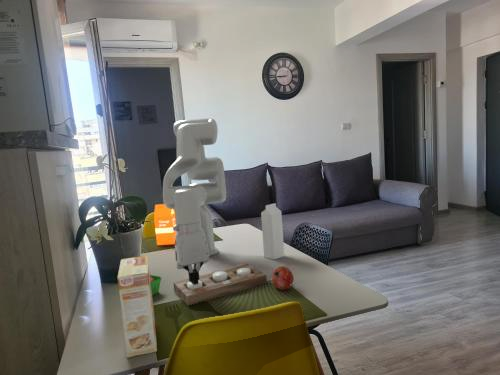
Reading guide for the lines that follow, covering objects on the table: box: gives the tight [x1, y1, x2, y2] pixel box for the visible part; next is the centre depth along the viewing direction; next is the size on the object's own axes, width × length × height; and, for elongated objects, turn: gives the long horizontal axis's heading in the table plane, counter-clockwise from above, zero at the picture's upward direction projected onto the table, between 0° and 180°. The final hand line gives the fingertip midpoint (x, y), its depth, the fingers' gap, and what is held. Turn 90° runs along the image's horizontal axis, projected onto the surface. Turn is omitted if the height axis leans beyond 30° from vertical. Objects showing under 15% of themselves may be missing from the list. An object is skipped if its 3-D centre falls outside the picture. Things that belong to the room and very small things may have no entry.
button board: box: [173, 263, 268, 307], centre depth 120 cm, size 14×28×3 cm, turn 119°
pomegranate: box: [271, 265, 295, 291], centre depth 116 cm, size 7×7×10 cm
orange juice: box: [153, 203, 178, 246], centre depth 182 cm, size 8×9×20 cm
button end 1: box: [187, 280, 202, 290], centre depth 116 cm, size 5×5×2 cm
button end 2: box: [237, 268, 251, 277], centre depth 125 cm, size 5×5×2 cm
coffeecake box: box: [117, 255, 158, 358], centre depth 90 cm, size 15×7×20 cm, turn 17°
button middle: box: [213, 271, 227, 283], centre depth 120 cm, size 5×5×2 cm
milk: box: [260, 202, 285, 261], centre depth 147 cm, size 6×6×22 cm
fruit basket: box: [150, 274, 162, 296], centre depth 117 cm, size 11×9×11 cm
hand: (194, 282), depth 116 cm, fingers closed
